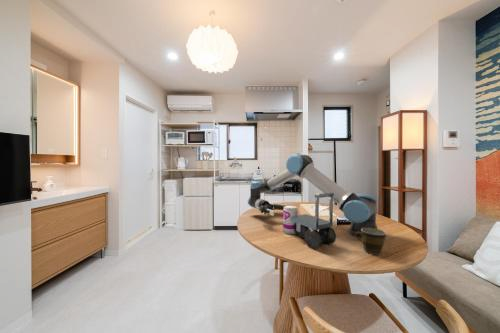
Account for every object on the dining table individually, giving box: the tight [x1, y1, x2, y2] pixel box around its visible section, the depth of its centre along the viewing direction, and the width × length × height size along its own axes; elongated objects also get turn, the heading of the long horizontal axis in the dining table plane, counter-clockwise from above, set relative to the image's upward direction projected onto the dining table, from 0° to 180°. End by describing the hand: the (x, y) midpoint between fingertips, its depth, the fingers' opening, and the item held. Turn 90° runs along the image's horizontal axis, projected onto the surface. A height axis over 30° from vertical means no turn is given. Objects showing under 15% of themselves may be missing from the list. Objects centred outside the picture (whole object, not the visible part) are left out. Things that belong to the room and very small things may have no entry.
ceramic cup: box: [354, 228, 387, 256], centre depth 99 cm, size 13×10×10 cm
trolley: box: [290, 192, 337, 250], centre depth 111 cm, size 22×12×26 cm, turn 31°
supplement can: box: [282, 205, 299, 235], centre depth 125 cm, size 8×8×15 cm
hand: (282, 212), depth 131 cm, fingers open, 13 cm apart
